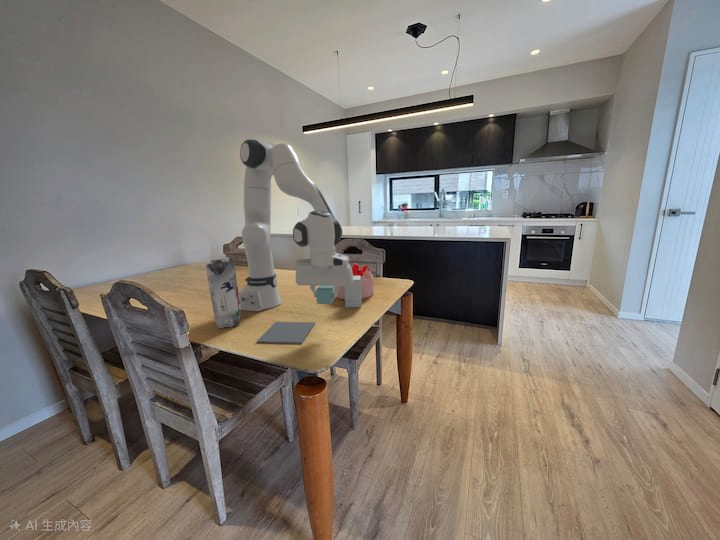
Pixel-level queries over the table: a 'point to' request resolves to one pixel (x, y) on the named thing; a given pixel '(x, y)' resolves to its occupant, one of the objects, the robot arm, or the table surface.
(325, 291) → the teal cube
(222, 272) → the juice carton
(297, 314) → the table surface
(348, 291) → the supplement box
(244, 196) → the robot arm
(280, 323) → the charcoal mat
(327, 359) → the table surface
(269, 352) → the table surface
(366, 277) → the cake
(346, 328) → the table surface
